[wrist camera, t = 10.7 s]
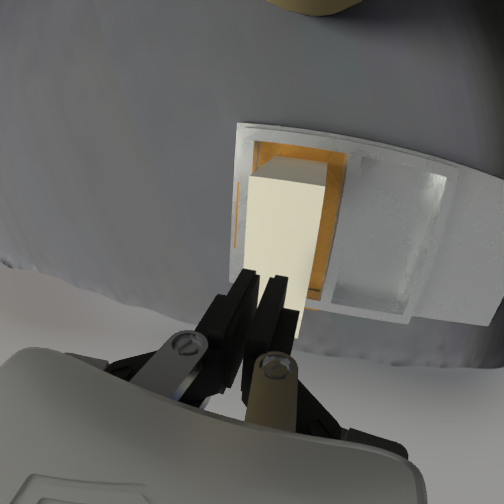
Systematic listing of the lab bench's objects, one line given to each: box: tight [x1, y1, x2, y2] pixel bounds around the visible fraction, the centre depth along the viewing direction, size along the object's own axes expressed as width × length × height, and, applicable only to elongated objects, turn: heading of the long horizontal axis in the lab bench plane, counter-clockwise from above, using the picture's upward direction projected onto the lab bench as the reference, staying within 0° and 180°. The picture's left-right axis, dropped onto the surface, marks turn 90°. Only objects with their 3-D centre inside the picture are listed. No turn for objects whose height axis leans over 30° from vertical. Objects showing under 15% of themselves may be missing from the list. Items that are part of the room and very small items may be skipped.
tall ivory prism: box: [243, 155, 327, 338], centre depth 18 cm, size 4×9×7 cm, turn 176°
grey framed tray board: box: [229, 122, 504, 326], centre depth 20 cm, size 25×13×2 cm, turn 85°
